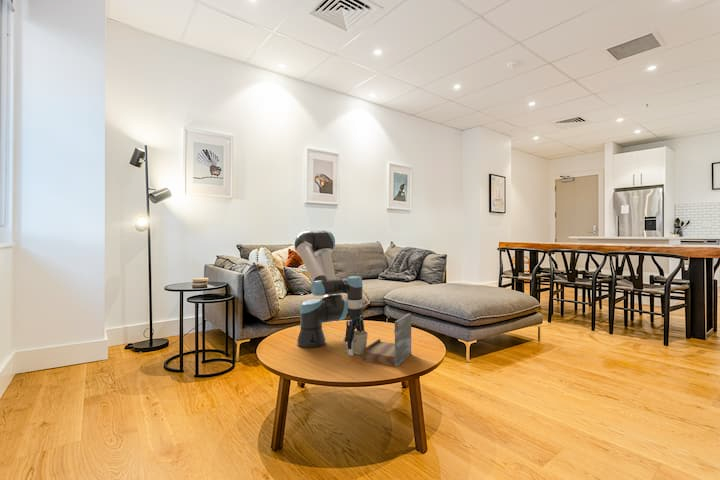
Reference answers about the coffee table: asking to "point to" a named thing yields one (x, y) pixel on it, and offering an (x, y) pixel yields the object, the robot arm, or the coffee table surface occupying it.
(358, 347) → the mug
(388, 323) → the coffee table surface
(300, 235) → the robot arm
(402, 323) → the cleat board
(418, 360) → the coffee table surface
